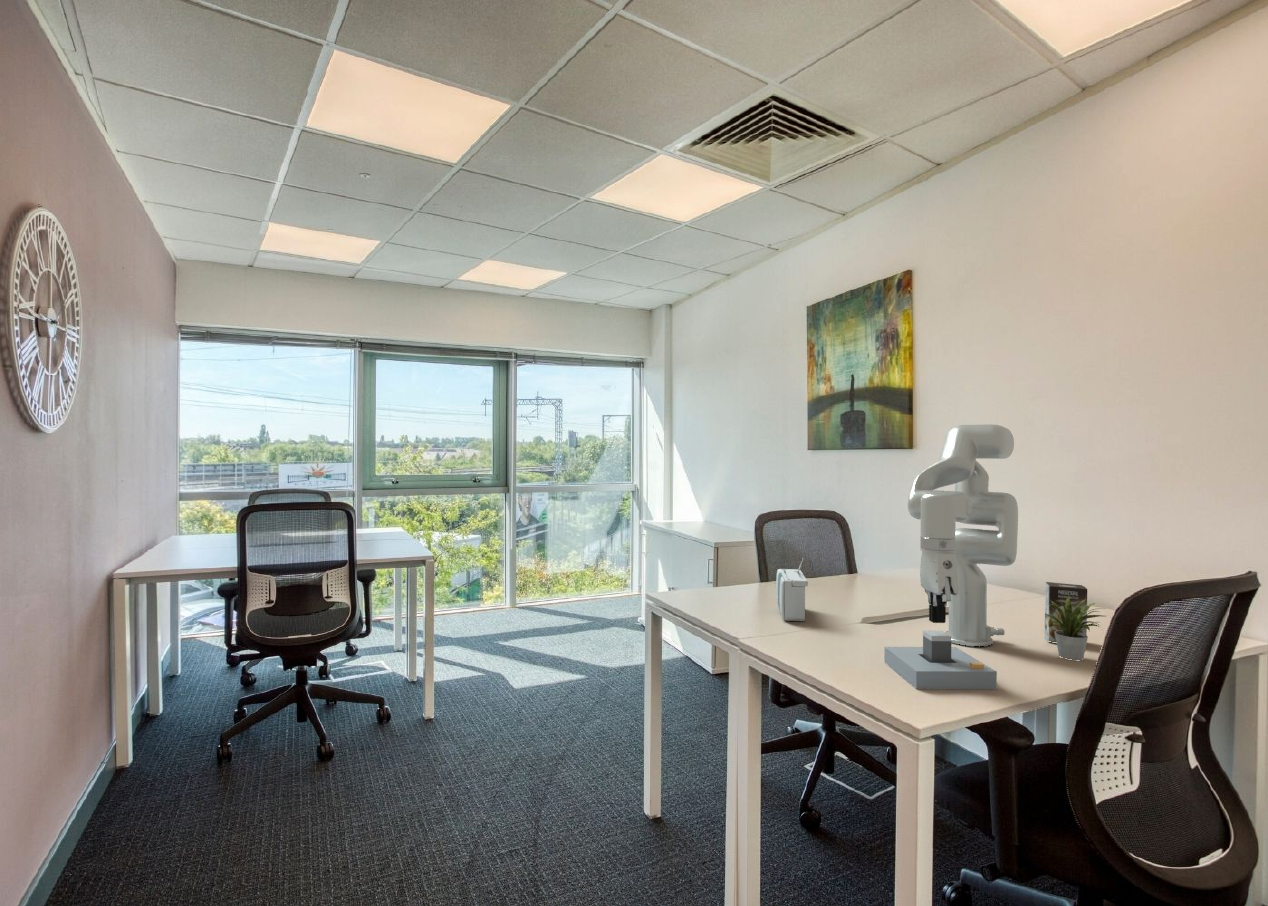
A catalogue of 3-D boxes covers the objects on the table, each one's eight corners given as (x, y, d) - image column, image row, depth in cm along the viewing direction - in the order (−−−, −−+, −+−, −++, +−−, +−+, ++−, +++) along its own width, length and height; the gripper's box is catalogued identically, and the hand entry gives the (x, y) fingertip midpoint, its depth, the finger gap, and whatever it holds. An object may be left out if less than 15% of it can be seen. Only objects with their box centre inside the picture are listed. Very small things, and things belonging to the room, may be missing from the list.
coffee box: (1047, 643, 177) (1048, 585, 177) (1044, 637, 183) (1044, 581, 183) (1087, 647, 174) (1087, 588, 174) (1082, 641, 179) (1082, 584, 179)
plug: (942, 672, 154) (942, 630, 154) (951, 678, 149) (951, 636, 149) (922, 671, 154) (923, 630, 154) (931, 678, 149) (931, 636, 149)
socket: (955, 662, 160) (955, 643, 160) (996, 689, 142) (996, 668, 142) (884, 662, 160) (884, 643, 160) (916, 689, 142) (916, 667, 142)
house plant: (1080, 671, 154) (1080, 604, 154) (1025, 654, 167) (1025, 592, 167) (1116, 664, 160) (1116, 599, 160) (1060, 648, 173) (1060, 588, 173)
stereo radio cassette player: (775, 606, 219) (776, 548, 219) (800, 607, 218) (800, 549, 218) (781, 622, 199) (781, 558, 199) (808, 623, 197) (808, 559, 197)
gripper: (970, 549, 144) (969, 630, 144) (938, 540, 159) (937, 614, 159) (937, 549, 144) (936, 630, 144) (908, 540, 159) (907, 614, 159)
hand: (937, 621), depth 151 cm, fingers closed
